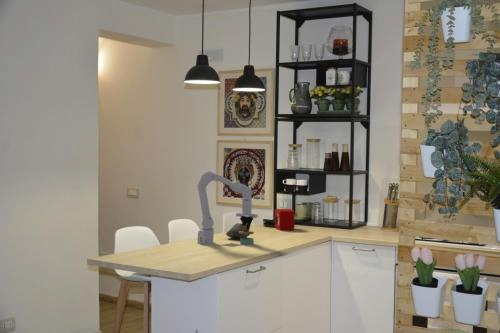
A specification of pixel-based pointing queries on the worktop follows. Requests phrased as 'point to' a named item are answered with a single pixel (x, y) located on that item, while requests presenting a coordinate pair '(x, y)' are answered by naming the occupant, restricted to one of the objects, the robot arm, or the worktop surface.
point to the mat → (231, 245)
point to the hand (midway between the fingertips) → (246, 228)
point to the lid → (245, 230)
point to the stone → (236, 232)
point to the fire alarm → (284, 219)
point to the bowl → (246, 241)
